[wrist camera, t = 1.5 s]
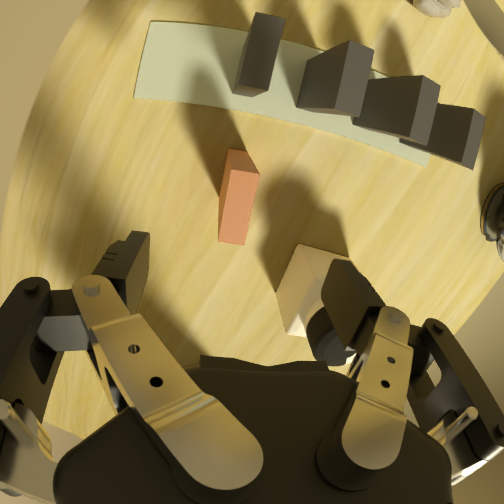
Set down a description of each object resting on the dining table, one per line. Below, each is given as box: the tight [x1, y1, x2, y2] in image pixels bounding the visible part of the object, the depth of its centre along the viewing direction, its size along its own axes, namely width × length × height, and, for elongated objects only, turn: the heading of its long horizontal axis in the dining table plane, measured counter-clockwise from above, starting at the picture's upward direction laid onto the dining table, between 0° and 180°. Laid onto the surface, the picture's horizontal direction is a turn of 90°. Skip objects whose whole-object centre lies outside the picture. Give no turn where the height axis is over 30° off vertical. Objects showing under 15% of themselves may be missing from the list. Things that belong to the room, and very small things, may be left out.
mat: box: [134, 22, 438, 168], centre depth 24 cm, size 32×8×1 cm, turn 78°
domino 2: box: [218, 148, 260, 245], centre depth 23 cm, size 2×5×10 cm, turn 168°
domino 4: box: [353, 75, 440, 146], centre depth 20 cm, size 2×5×10 cm, turn 168°
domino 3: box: [296, 40, 374, 117], centre depth 19 cm, size 2×5×10 cm, turn 168°
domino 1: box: [233, 12, 285, 97], centre depth 18 cm, size 2×5×10 cm, turn 168°
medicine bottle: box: [276, 244, 361, 366], centre depth 29 cm, size 7×7×12 cm
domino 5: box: [399, 104, 485, 170], centre depth 21 cm, size 2×5×10 cm, turn 168°
